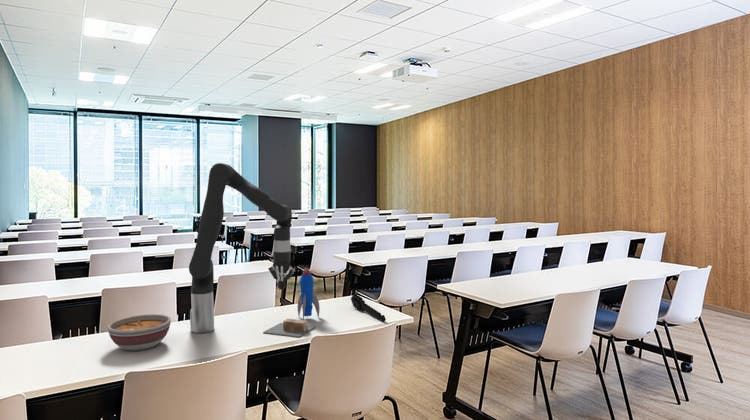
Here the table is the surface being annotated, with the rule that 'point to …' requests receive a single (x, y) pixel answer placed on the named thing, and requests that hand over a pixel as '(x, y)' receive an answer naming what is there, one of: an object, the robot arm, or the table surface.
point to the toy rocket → (307, 295)
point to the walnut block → (295, 325)
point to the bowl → (139, 331)
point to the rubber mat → (279, 331)
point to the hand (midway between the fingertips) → (281, 289)
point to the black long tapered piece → (366, 307)
